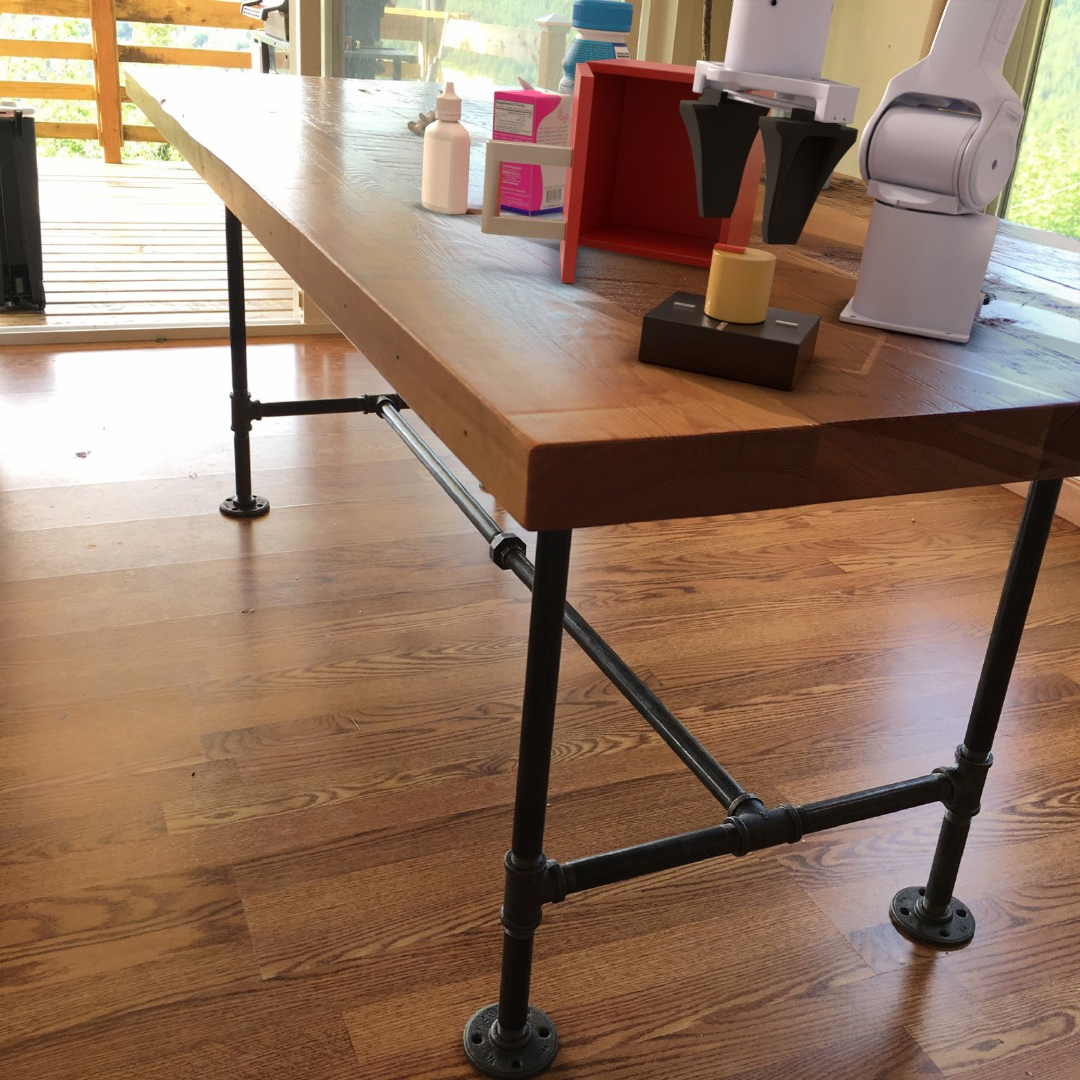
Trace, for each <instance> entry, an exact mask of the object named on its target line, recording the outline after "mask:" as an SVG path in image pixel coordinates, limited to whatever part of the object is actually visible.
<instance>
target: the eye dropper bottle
mask: <svg viewBox="0 0 1080 1080" xmlns="http://www.w3.org/2000/svg"><path fill="white" fill-rule="evenodd" d="M443 89H444V90H443V91H444V92H443V94H441V93H440V94H441V95H440V94H439V95H437V96H436V97H435V99H436V100H435V109H436V118H437V119H439V120H436V121H435V122H433V123H431V124H429V125H428V126H427V127H426V129H425V130H424V135H423V137H424V138H423V153H422V154H423V157H422V158H423V159H422V179H421V182H422V183H421V205H422V207H423V208H425V209H427V210H428V211H431V212H435V213H438V214H442V215H448V216H456V215H457V216H458V215H465V214H467V213H468V212H467V211H468V200H469V199H468V198H469V197H468V196H469V181H470V180H469V178H470V159H471V136H470V134H469V131H468V130H467V129H466V128H465V127H464V125H463V124H462V123H461V122H460V121H461V120H462V119H461V118H462V100H463V99H462V98H461V97H459V96H458V95H457V94H456V92H455V84H454V82H453V81H445V85H444V88H443Z"/></svg>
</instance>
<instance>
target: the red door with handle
mask: <svg viewBox="0 0 1080 1080" xmlns="http://www.w3.org/2000/svg"><path fill="white" fill-rule="evenodd" d="M593 85H594V76H593V74H592V72H591V70H590V68H589V65H588V64H585V63H576V72H575V83H574V94H573V105H572V116H571V127H570V138H569V146H559V145H548V144H536V143H525V142H514V141H503V140H492V139H487V140H486V143H485V158H484V159H485V160H484V164H485V165H484V174H483V175H484V177H483V180H484V181H483V191H482V192H483V195H482V209H481V225H480V226H481V227H480V232H481V233H482V234H486V235H493V236H503V237H504V236H506V237H515V238H525V239H538V240H539V239H540V240H548V241H549V240H550V241H559V259H560V278H561V279H560V280H561V281H560V282H561V284H571V285H573V284H575V278H576V277H575V276H576V266H577V258H578V257H577V256H578V247H579V246H578V238H579V227H580V217H581V207H582V197H583V187H584V177H585V166H586V156H587V146H588V136H589V126H590V116H591V105H592V95H593ZM503 162H512V163H523V164H535V165H546V166H557V167H567V171H566V182H565V193H564V204H563V212H562V216H561V219H559V218H548V217H537V216H526V215H515V214H514V215H513V214H503V213H501V209H500V205H501V190H502V175H503Z"/></svg>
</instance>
